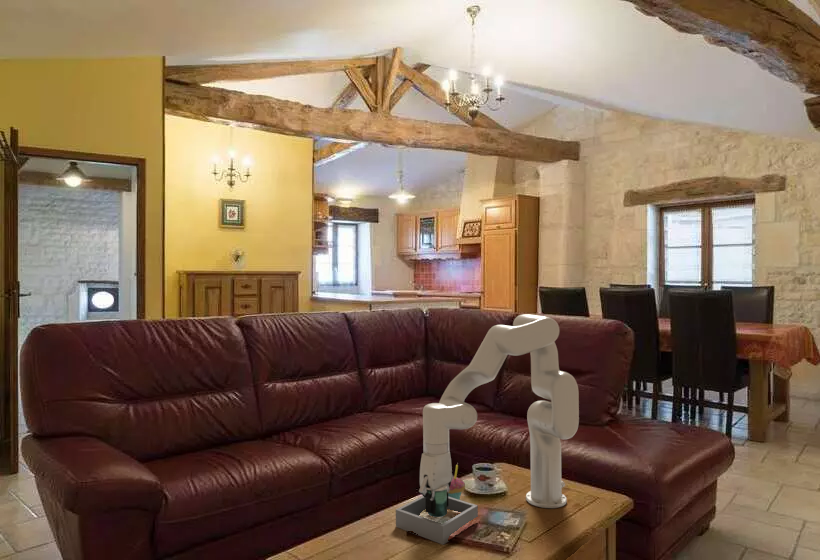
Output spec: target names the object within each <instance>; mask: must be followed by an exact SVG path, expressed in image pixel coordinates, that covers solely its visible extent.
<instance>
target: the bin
mask: <svg viewBox="0 0 820 560" xmlns="http://www.w3.org/2000/svg"><path fill="white" fill-rule="evenodd" d="M448 502H449V506H448V507H447V509H450V510H454V511H458V512H461V513H460V514H458V515H456V516H455V517H453V518H451V519H450V520H448V521H446V522H445V523H443V524H441V523H438V522H435V521H432V520H429V519H427V518H424V517H421V516H419V515H420V513H421V512H422V511H423V510H425V509H426V500H425V498H424V496H423V495H421V496H420V497H418V498H416V499H414V500H412V501H410V502H408V503H406V504H403V505H401V506H399V507H397V508H396V509H395V527H396V528H398V529H401V530H403V531H405V532H408V531H413V532H414V533H416V534H415V535H416V536H420V537H422V538H424V539H426V540H427V539H428V540H430V541H432V542H435V543H438V544H441V545H442V546H443V545H445V544H447V543H448V542H449V541H448V538H449V536H450V535H451V534H452V533H454V532H455V531H457V530H458V529H459V528H460V527H462V526H463V525H465V524H466V523H468V522H469V521H471V520H473V519H474V518H476V517H478V518H479V515H478V512H479V511H478V510H479V509H478V508H479V507H478V506H479V505H477V504H475V503H470V502H467V501H465V500H461V499H459V500H458V499H455V498H452V497H449V496H448ZM414 533H413V534H414ZM417 534H418V535H417Z"/></svg>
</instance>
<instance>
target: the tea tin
mask: <svg viewBox="0 0 820 560" xmlns="http://www.w3.org/2000/svg"><path fill="white" fill-rule="evenodd" d="M429 488H430V486H429ZM429 494H430V495H431V491H430V490H429ZM434 500H435V504H436V513H435V514H431V513H428V514H429V515H430V516H433V517H443V516H445V515H446V514H447V485H444V486H442V487H440V488H438V489H436V490H435V496H434Z"/></svg>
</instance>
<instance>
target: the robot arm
mask: <svg viewBox="0 0 820 560" xmlns="http://www.w3.org/2000/svg"><path fill="white" fill-rule="evenodd" d="M559 336H560V325H559V324H558V322H557V321H556V319H554V318H552V317H550V316H544V315H537V314H536V315H535V314H529V313H527V314H524V313H523V314H520V315H517V316H516V317H514V320H513V323H512V325H505V324H496V325H493V326H491V328H489V329H488V331H487V333H486V335H485V337H484V338H483V341H481V344H480V346H479V347H478V349H477V351H476V353H475V355H474V356H473V358H472V359H471V361H470V363H469V364H468V365H467V366H466V367H465V368H464V369H463V370H461V371H460V372H459V373H458V374H457V375H456V376H455V377H454V378H453V379H452V380H451V381H450V382H449V384H448V385H447V387H446V388H445V390H444V392H443V394H442V395H441V397H440V400H439V401H438V402H432V403H428V404H425V405H424V407H423V409H422V436H423V438H422V439H423V440H422V442H423V445H422V446H423V449H422V450H423V453H421V458H420V466H419V487H420V488H419V490H418V492H419V493H420V495H421V496H424V498H425V500H426V512H428V513H431V514H435V513H436V504H435V500H434V496H435V490H436V489H438V488H440V487H442V486H444V485H447V507H448V506H449V502H448V492H449V491H450V489H449V487H450V485H451V482H452V479H453V477H454V476H455V475H454V474H453V473H452V472H453V470H452V468H453V467H452V458H451V452H450V451H451V450H450V430H467V429H470V428H472V427H473V426H474V425H475V424H476V422H477V420H478V412H477V410H476V409H475V408H474V406H472V405H471V404H469V403H467V402H465V399H466V398H467V397H468V395H469V394H470V393H471V392H472V391H473V390H474V389H475V388H478V387H479V386H481V385H484V384H487V383H488V384H489V382H492V381H494V380H495V378H496V377H497V375H498V374H499V371H500V369H501V368H502V366H503V364H504V362H505V360H506V358H507V357H508V355H509V356H516V357H517V356H523V355H525V354H529V353H530V373H531V374H530V378H531V379H530V383H531V390H532V392H533V393H534V394H535V395H536V396H538V397H541V398H543V399H546V400H537V401H534V402H533V403H532V404H530V406H529V407H528V410H527V413H526V414H527V415H526V418H527V421H526V422H527V426H528V427H527V428H528V431H529V438H530V439H529V441H530V451H529V452H530V454H529V455H530V491H528V492H526V495H525V500H526V501H527V502H528V503H529V504H530V505H532V506H535V507H539V508H544V509H557V508H558V509H559V508H562V507H564V506H565V505H567V499H568V498H567V496H566V495H565V494H563V493H562V490H563V488H564V487H565V486H566V483H565V481H563V480H562V443H561V440H569V439H572V438H573V437H574V436H575V434H576V433H577V431H578V428H579V422H580V417H579V416H580V410H579V409H580V408H579V407H580V405H579V404H580V401H579V399H580V398H579V395H580V394H579V392H580V391H579V386H578V383H577V380H576V379H575V377H574V376H573V375H572V374H570V373H569V372H567V371H563V370H560V366H559V351H558V348H557V345H556V340H557V339H558V338H559ZM429 486H430V488H429ZM429 490H430V491H431V495H430V494H429Z"/></svg>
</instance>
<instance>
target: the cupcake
mask: <svg viewBox="0 0 820 560" xmlns="http://www.w3.org/2000/svg"><path fill="white" fill-rule="evenodd" d="M458 464H459V463H458V462H457V464H456V465H455V468H454V469H455V471H454V475H453V476H454V477H453V479H452V482H451V485H450V487H449V489H450V491H449V492H448V496H449V497H452V498H455V499H458V500H461V499H460V498H461V495H462V493H463V492H464V491H465V489H466V484H465V482H464V481H463V480H462V479H461V478H459V477H457V476H458V475H457V474H458V469H459V465H458Z"/></svg>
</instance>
